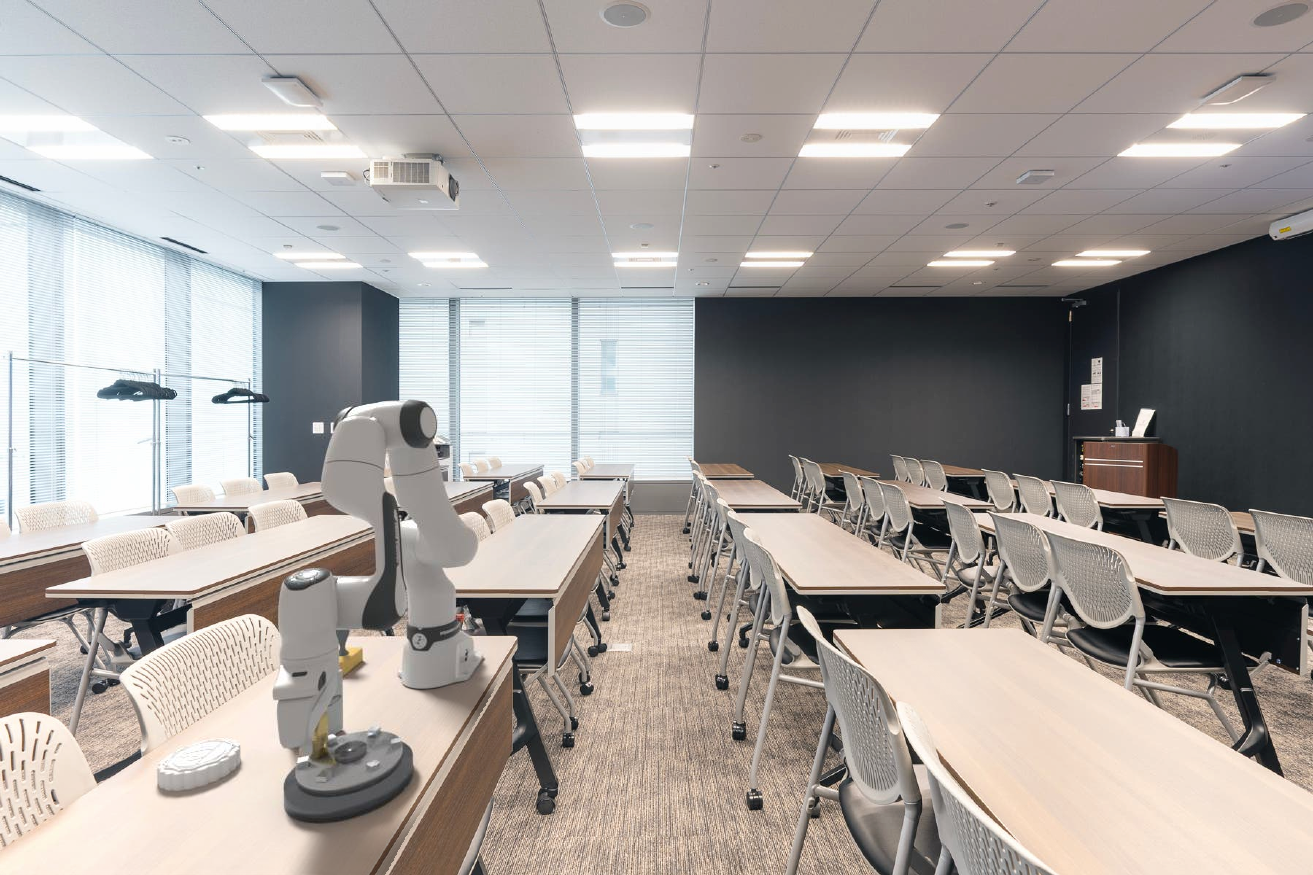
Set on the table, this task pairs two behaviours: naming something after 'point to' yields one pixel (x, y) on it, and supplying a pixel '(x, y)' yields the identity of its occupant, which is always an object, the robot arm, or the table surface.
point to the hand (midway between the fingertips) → (313, 743)
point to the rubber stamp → (347, 653)
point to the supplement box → (336, 707)
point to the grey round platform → (346, 796)
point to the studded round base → (347, 760)
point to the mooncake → (198, 764)
